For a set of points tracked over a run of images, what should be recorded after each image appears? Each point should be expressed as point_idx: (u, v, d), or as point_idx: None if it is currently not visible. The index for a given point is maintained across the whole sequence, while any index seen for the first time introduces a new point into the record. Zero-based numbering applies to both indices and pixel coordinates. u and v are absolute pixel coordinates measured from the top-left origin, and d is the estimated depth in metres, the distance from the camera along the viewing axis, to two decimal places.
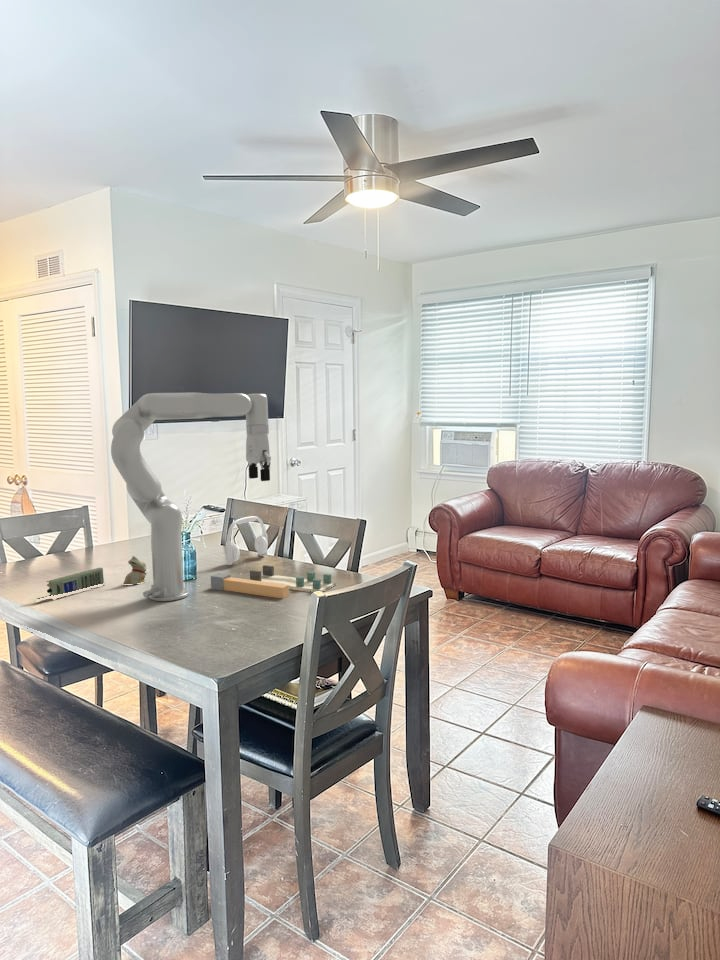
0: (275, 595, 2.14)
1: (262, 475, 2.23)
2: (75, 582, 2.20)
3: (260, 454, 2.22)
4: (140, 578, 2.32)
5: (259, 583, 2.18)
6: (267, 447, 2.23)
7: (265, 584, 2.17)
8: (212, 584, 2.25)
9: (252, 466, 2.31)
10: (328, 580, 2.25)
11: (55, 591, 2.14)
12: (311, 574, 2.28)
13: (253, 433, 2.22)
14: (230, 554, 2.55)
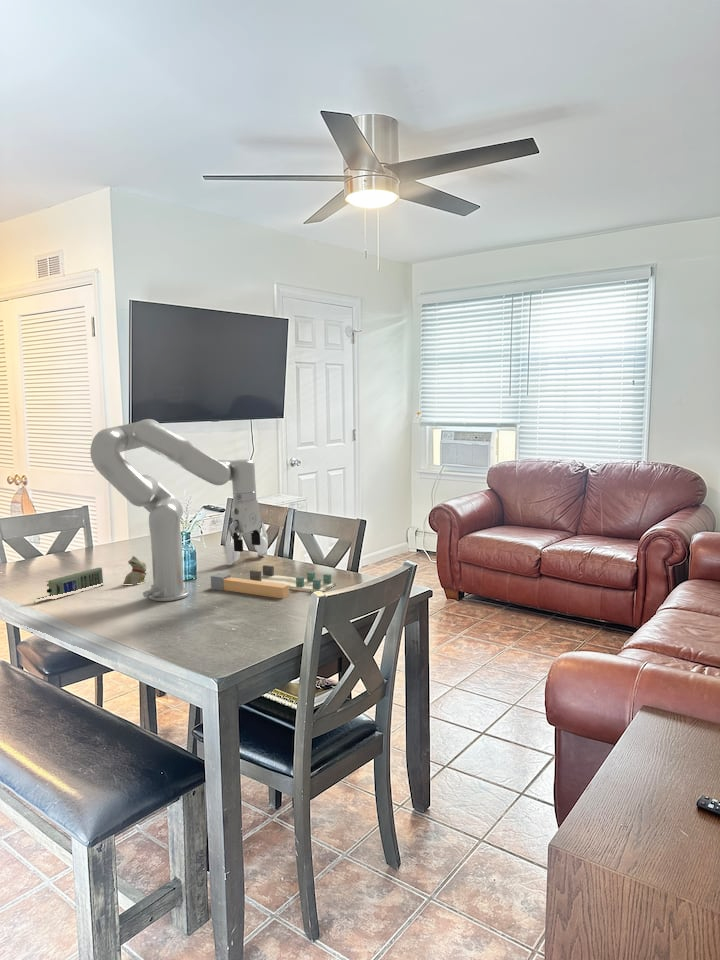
0: (275, 595, 2.14)
1: None
2: (75, 582, 2.21)
3: None
4: (140, 578, 2.32)
5: (259, 583, 2.18)
6: None
7: (265, 584, 2.17)
8: (212, 584, 2.25)
9: None
10: (328, 580, 2.25)
11: (55, 591, 2.15)
12: (311, 574, 2.28)
13: None
14: (230, 554, 2.55)
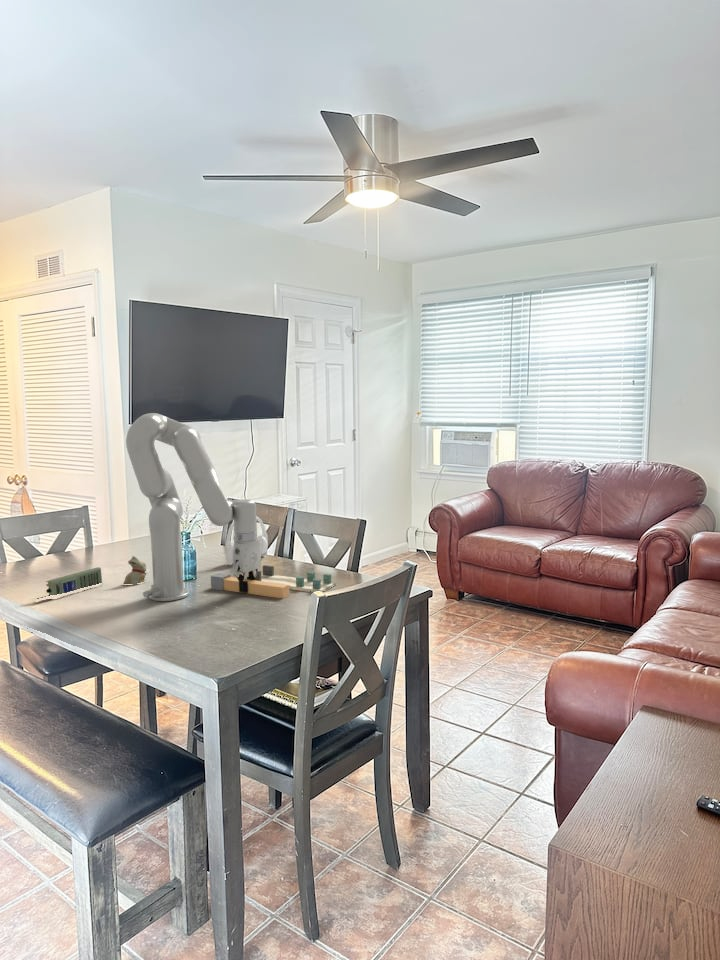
0: (275, 595, 2.14)
1: None
2: (74, 582, 2.21)
3: None
4: (140, 578, 2.32)
5: (259, 583, 2.18)
6: None
7: (265, 584, 2.17)
8: (212, 584, 2.25)
9: None
10: (328, 580, 2.25)
11: (54, 591, 2.15)
12: (311, 574, 2.28)
13: None
14: (230, 554, 2.55)
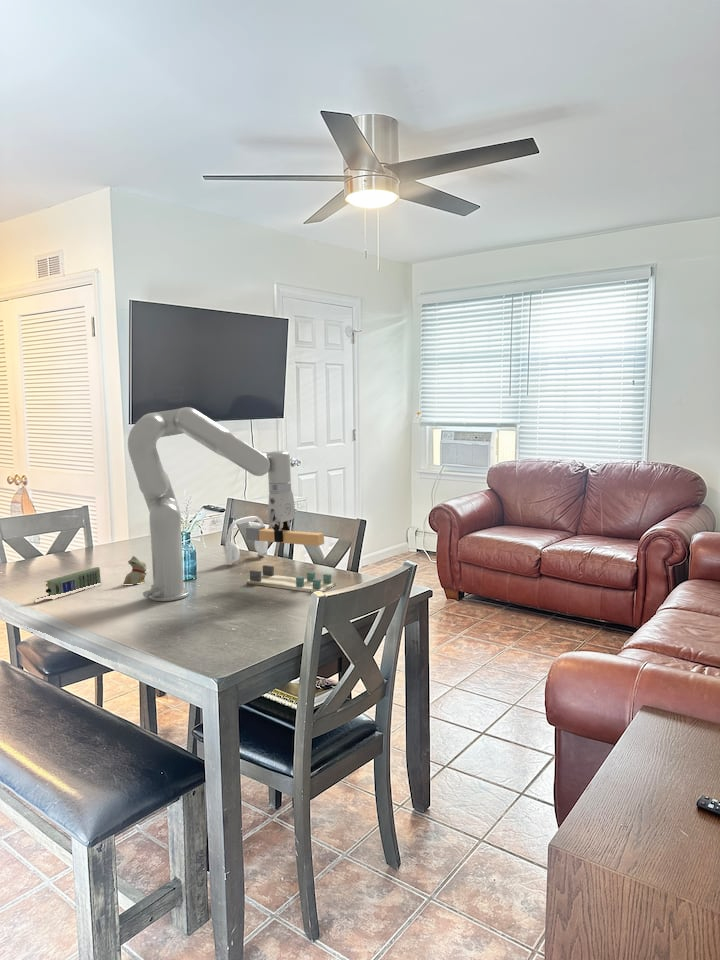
0: (310, 543, 2.19)
1: None
2: (73, 582, 2.21)
3: None
4: (140, 578, 2.32)
5: (294, 532, 2.23)
6: None
7: (300, 533, 2.21)
8: (247, 535, 2.30)
9: None
10: (328, 580, 2.25)
11: (54, 591, 2.15)
12: (311, 574, 2.28)
13: None
14: (230, 554, 2.55)
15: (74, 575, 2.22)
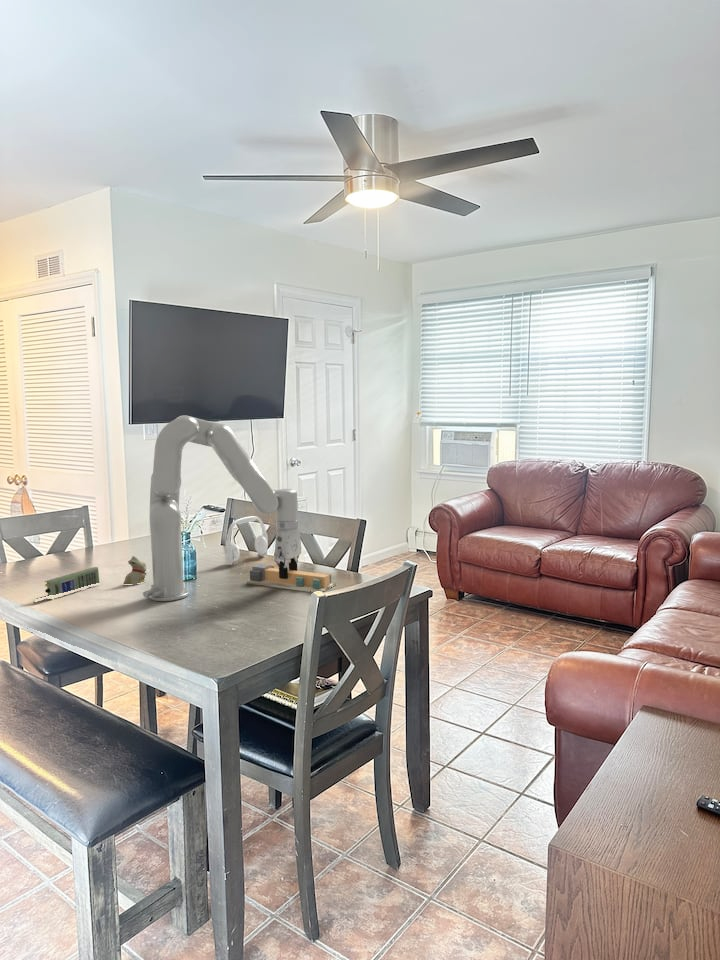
0: None
1: None
2: (72, 582, 2.21)
3: None
4: (140, 578, 2.32)
5: (300, 573, 2.26)
6: None
7: (306, 574, 2.24)
8: None
9: None
10: None
11: (53, 591, 2.15)
12: None
13: None
14: (230, 554, 2.55)
15: (73, 575, 2.22)
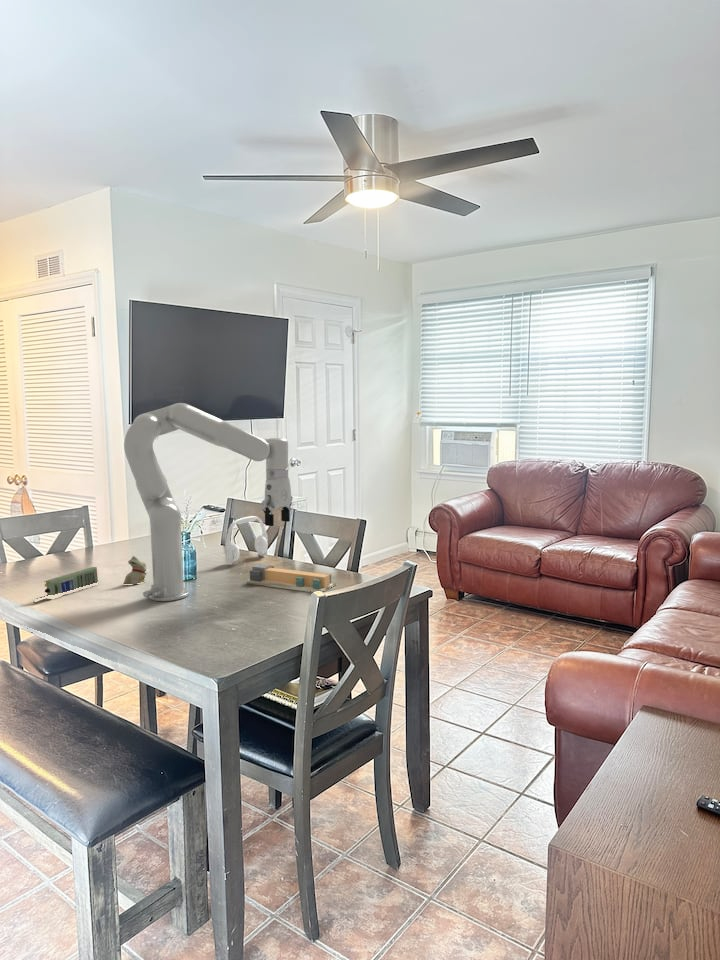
0: None
1: None
2: (71, 582, 2.21)
3: None
4: (140, 578, 2.32)
5: (300, 573, 2.26)
6: None
7: (306, 574, 2.24)
8: None
9: None
10: None
11: (53, 591, 2.15)
12: None
13: None
14: (230, 554, 2.55)
15: (72, 575, 2.22)
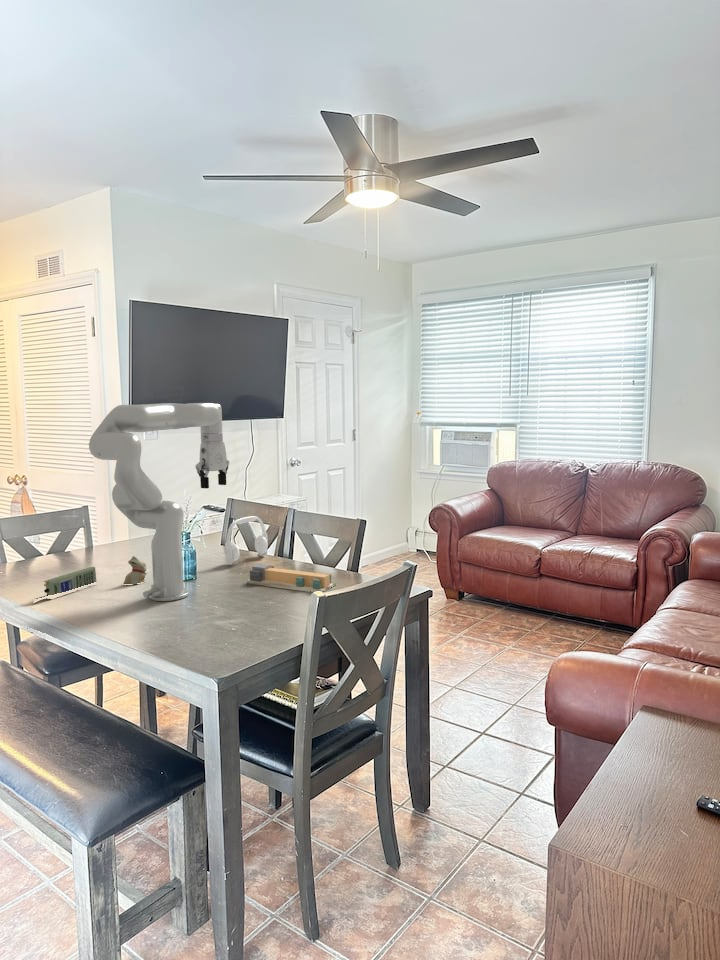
0: None
1: None
2: (70, 582, 2.21)
3: None
4: (140, 578, 2.32)
5: (300, 573, 2.26)
6: None
7: (306, 574, 2.24)
8: None
9: None
10: None
11: (52, 591, 2.15)
12: None
13: (222, 441, 2.34)
14: (230, 554, 2.55)
15: (71, 575, 2.22)
